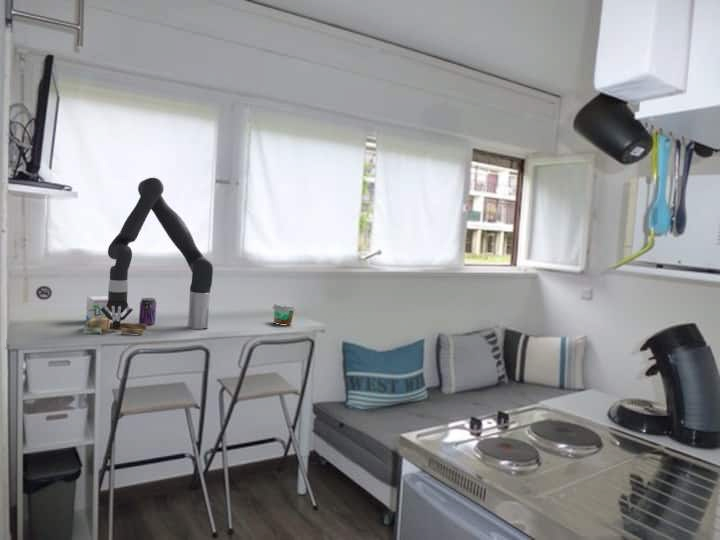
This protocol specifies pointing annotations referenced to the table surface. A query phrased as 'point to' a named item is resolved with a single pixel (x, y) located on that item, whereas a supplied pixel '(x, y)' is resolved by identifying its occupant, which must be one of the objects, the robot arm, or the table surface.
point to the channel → (125, 328)
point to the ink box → (96, 307)
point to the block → (100, 323)
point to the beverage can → (147, 311)
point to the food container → (283, 314)
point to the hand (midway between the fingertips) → (116, 329)
